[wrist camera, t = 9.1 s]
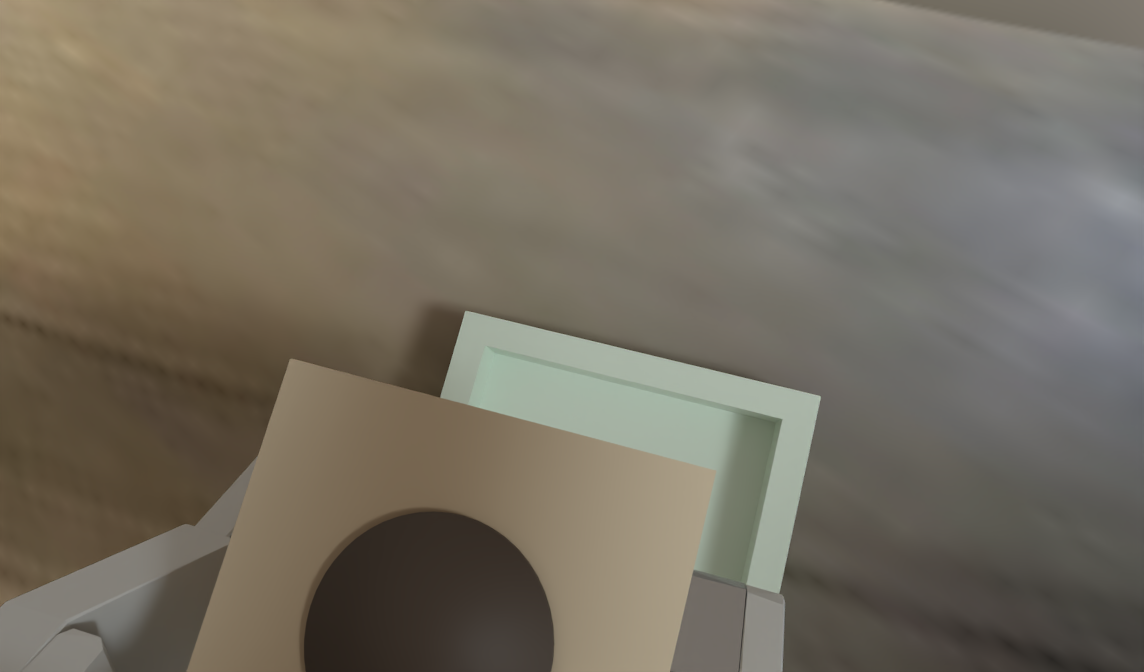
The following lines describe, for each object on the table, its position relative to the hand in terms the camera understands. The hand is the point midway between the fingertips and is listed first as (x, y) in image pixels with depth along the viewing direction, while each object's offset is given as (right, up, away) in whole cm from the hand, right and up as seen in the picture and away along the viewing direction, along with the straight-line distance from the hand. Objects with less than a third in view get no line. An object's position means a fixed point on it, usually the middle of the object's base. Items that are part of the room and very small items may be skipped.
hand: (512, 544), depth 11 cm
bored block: (0, -2, +5) cm, 5 cm away
